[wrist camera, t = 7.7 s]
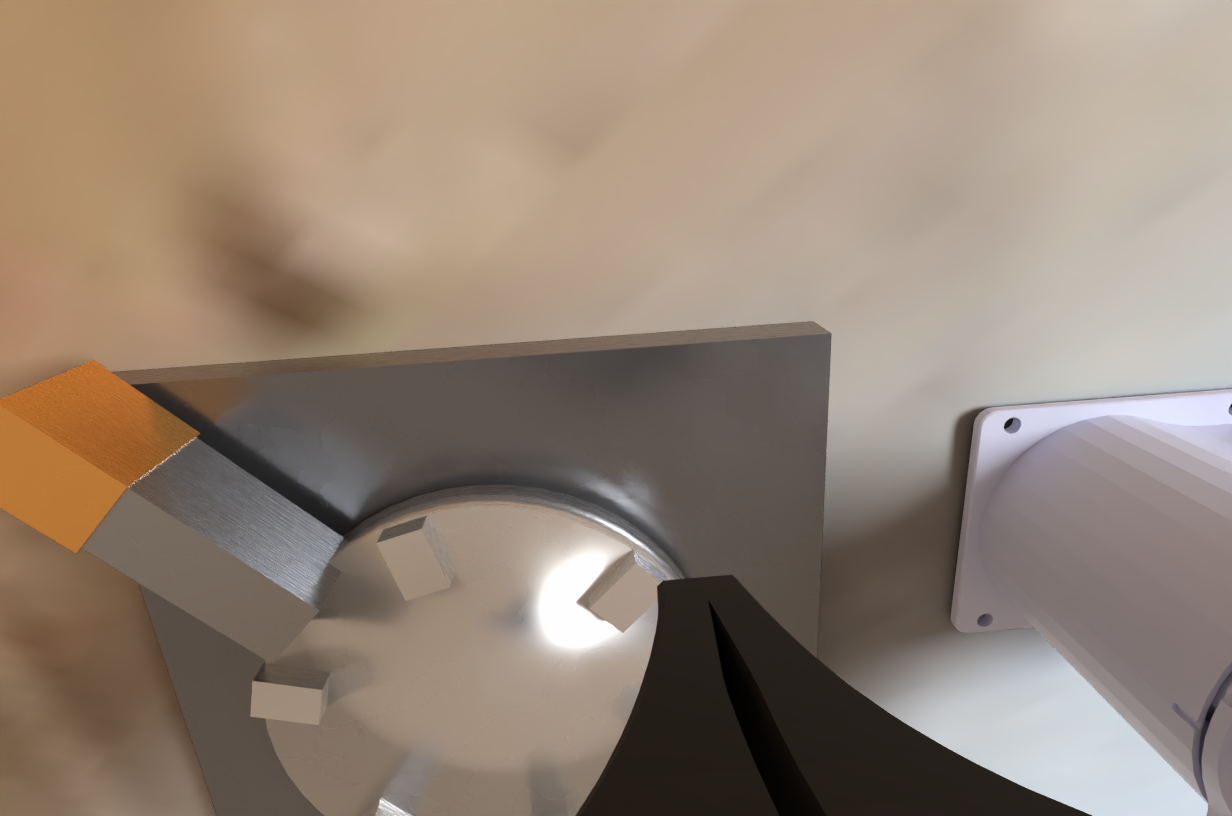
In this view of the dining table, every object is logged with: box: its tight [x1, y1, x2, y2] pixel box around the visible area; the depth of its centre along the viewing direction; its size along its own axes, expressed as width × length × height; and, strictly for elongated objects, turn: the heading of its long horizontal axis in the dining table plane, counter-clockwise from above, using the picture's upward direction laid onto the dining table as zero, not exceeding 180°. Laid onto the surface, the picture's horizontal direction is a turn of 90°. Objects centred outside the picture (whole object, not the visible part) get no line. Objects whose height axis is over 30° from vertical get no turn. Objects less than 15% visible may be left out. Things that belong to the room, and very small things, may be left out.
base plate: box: [112, 321, 831, 816], centre depth 23 cm, size 20×20×2 cm
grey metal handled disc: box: [0, 360, 685, 816], centre depth 19 cm, size 13×20×3 cm, turn 48°
